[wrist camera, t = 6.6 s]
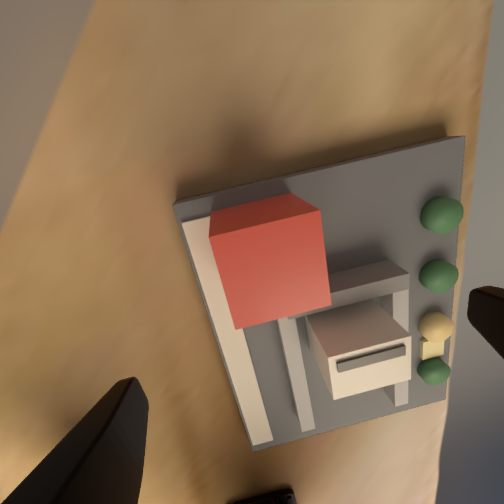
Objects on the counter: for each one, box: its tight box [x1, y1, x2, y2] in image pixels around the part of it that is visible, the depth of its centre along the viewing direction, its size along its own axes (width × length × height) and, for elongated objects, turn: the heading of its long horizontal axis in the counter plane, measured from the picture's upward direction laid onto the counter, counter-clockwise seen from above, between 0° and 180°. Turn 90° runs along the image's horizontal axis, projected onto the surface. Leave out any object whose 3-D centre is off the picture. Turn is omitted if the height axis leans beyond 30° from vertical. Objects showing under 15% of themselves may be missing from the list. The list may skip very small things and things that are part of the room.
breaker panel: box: [172, 136, 465, 452], centre depth 18 cm, size 20×16×3 cm
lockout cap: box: [209, 193, 332, 330], centre depth 13 cm, size 4×4×4 cm
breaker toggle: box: [305, 298, 411, 400], centre depth 16 cm, size 3×4×4 cm
